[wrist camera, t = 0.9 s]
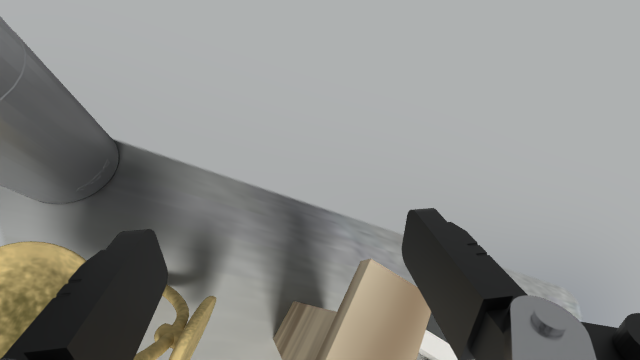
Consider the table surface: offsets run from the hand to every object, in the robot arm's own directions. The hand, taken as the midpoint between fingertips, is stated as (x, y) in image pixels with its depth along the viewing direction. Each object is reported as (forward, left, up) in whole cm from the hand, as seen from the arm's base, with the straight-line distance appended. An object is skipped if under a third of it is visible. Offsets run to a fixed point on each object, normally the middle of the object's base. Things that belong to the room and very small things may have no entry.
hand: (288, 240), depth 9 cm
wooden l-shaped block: (+6, -1, -23) cm, 24 cm away
